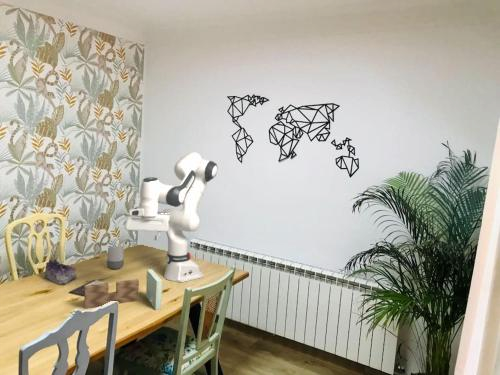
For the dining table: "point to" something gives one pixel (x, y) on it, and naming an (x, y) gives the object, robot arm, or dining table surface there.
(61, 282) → the geode
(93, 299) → the walnut board
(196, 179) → the robot arm
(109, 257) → the smart speaker
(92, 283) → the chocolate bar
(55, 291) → the dining table surface
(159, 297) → the sage plate
